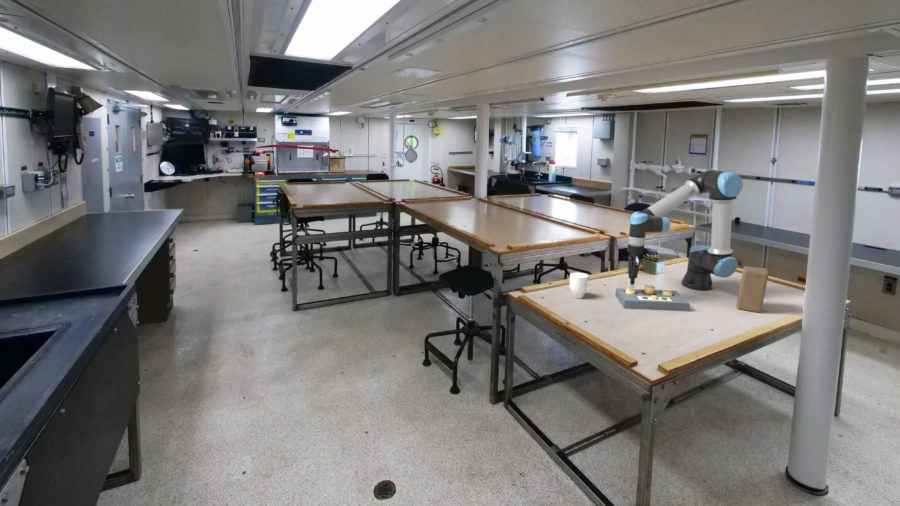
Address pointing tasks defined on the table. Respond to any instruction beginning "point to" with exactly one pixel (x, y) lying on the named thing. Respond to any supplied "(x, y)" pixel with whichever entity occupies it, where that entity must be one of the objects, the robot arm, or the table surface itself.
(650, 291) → the button middle
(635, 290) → the button
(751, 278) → the wooden block
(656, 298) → the card
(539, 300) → the table surface
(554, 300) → the table surface
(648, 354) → the table surface
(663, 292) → the button
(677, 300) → the console
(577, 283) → the mug
